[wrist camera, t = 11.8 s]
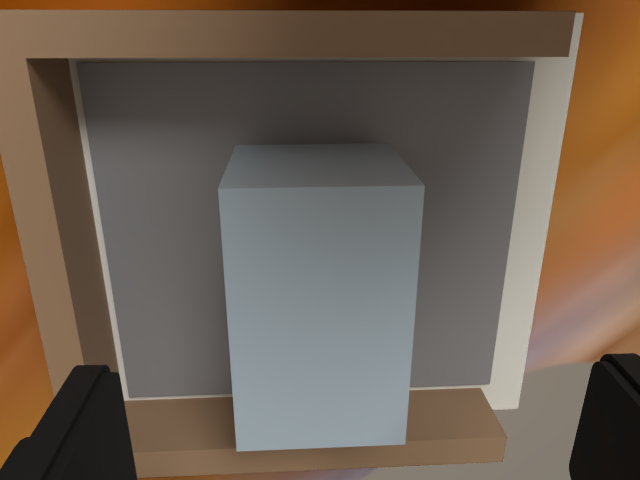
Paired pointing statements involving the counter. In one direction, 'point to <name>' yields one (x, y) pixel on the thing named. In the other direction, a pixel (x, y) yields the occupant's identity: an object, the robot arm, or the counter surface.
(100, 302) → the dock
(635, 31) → the counter surface
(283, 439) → the tall pale blue box
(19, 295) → the counter surface
